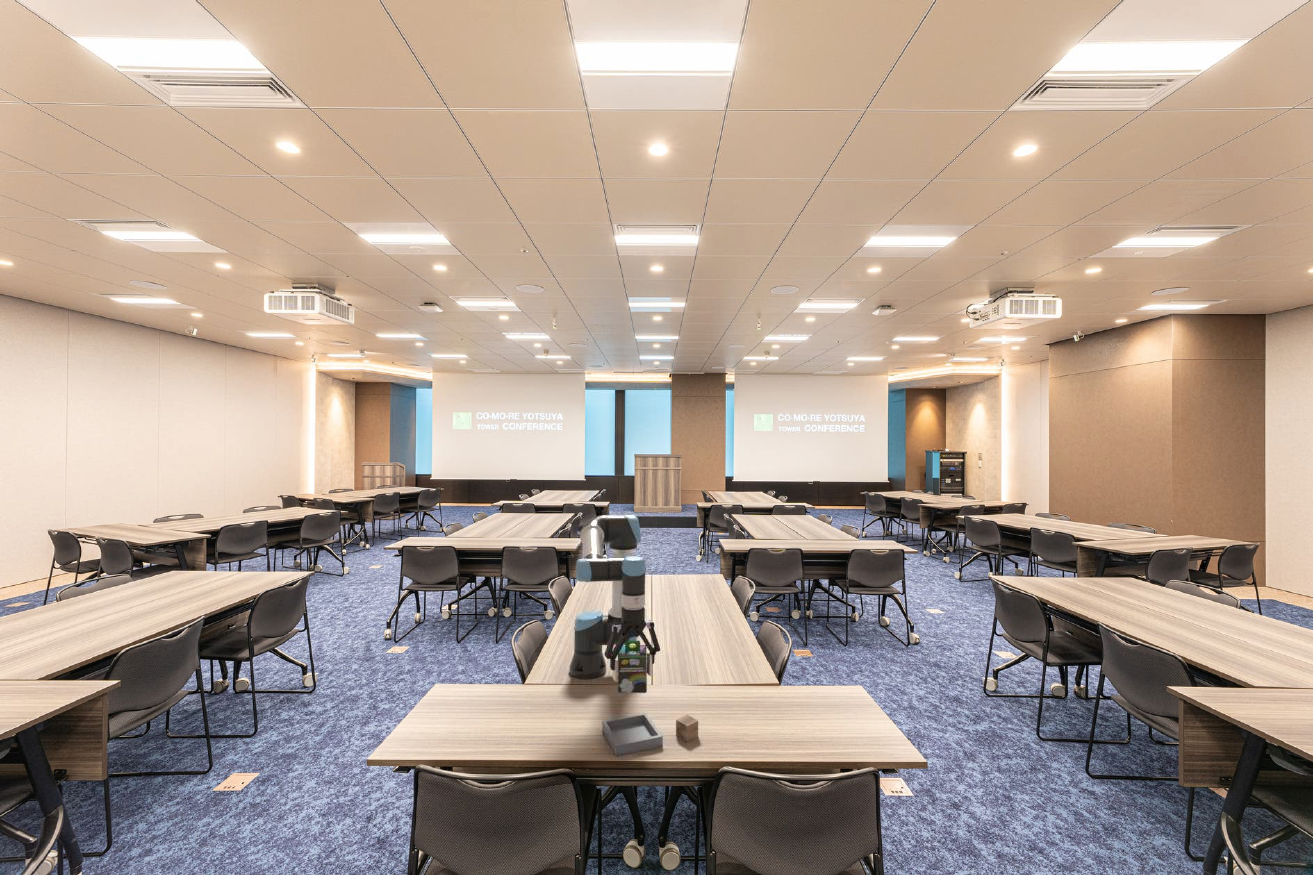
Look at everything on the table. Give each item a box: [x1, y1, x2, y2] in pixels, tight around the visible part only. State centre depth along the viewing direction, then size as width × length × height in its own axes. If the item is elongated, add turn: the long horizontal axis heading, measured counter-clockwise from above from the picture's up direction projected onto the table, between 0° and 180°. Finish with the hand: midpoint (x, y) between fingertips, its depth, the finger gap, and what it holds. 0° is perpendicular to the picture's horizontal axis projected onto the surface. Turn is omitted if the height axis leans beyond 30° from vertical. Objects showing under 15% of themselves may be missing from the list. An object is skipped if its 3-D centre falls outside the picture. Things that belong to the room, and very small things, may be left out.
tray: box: [601, 712, 664, 757], centre depth 156 cm, size 15×15×3 cm
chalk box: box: [617, 640, 648, 694], centre depth 157 cm, size 9×9×15 cm
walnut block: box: [675, 714, 699, 743], centre depth 158 cm, size 5×5×5 cm
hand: (632, 677), depth 157 cm, fingers closed on chalk box, 11 cm apart
